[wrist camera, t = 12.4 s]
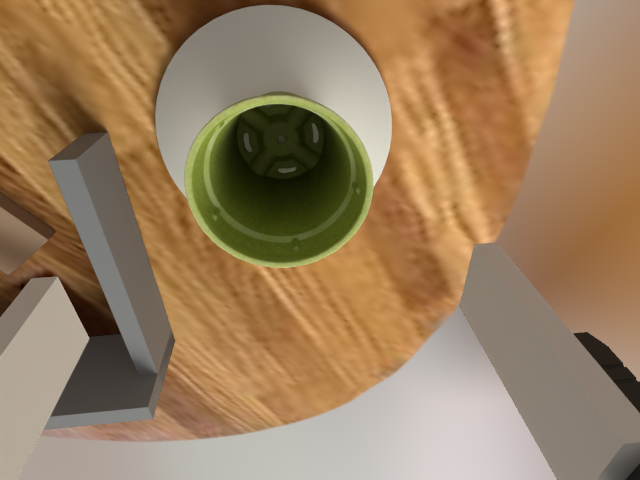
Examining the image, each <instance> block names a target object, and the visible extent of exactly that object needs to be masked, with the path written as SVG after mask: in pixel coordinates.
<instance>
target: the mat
mask: <svg viewBox="0 0 640 480" xmlns="http://www.w3.org/2000/svg"><path fill="white" fill-rule="evenodd" d="M277 91H282V92H289V93H293V94H296V95H298V96H301V97H303V98H307V99H310V100H313V101H315V102H318V103H320V104H322V105H324V106H326V107H327V108H329V109H331V110H332V111H334V112H335V113H336V114H338V115H339V116H340V117H341V118H343V119H344V120H345V121H346V122H347V123H348V124H349V125H350V126H351V127H352V129H353V130H354V131H355V132H356V134H357V135H358V136H359V138H360V140H361V141H362V143H363V145H364V147H365V149H366V151H367V153H368V156H369V159H370V162H371V166H372V172H373V187H374V186H375V184H376V182H377V180H378V179H379V177H380V175H381V173H382V170H383V168H384V165H385V163H386V160H387V156H388V153H389V149H390V142H391V135H392V116H391V108H390V102H389V98H388V94H387V90H386V87H385V85H384V82H383V80H382V78H381V75H380V73H379V71H378V69H377V68H376V66H375V64H374V63H373V61H372V59H371V58H370V57H369V55H368V54H367V53H366V51H365V50H364V49H363V48H362V46H361V45H360V44H359V43H358V42H357V41H356V40H355V39H354V38H352V37H351V36H350V35H349V34H348V33H347V32H345V31H344V30H343V29H341V28H340V27H339V26H337V25H336V24H334V23H333V22H331V21H329V20H327V19H325V18H323V17H321V16H319V15H317V14H314V13H312V12H309V11H306V10H303V9H299V8H294V7H289V6H284V5H259V6H250V7H245V8H242V9H238V10H234V11H231V12H229V13H226V14H224V15H222V16H220V17H217V18H215V19H213V20H212V21H210V22H209V23H207V24H206V25H204V26H203V27H201V28H199V29H198V30H197V31H196V32H195V33H194V34H193V35H192V36H190V37H189V38H188V39H187V40H186V41H185V42H184V44H183V45H182V46H181V47H180V48H179V50H178V51H177V52H176V53H175V55H174V57H173V58H172V60H171V62H170V63H169V65H168V67H167V69H166V71H165V74H164V76H163V79H162V81H161V84H160V88H159V92H158V96H157V102H156V113H155V121H156V134H157V140H158V145H159V149H160V152H161V155H162V158H163V161H164V163H165V165H166V167H167V170H168V172H169V174H170V176H171V177H172V179H173V180H174V182H175V184H176V185H177V187H178V188H179V189H180V191H181V192H182V193H183V194H184V195H185V197H186V193H185V186H184V171H185V164H186V159H187V156H188V153H189V150H190V147H191V145H192V143H193V141H194V140H195V138H196V136H197V135H198V133H199V132H200V131H201V129H202V128H203V127H204V126H205V125H206V124H207V123H208V122H209V121H210V120H211V119H212V118H213V117H214V116H215V115H217V114H218V113H219V112H221V111H222V110H223V109H225V108H227V107H228V106H230V105H232V104H234V103H236V102H239V101H241V100H244V99H247V98H251V97H255V96H260V95H263V94H266V93H270V92H277ZM274 105H285V104H269V105H265V106H266V107H269V106H274ZM312 127H313V128H312V129H313V142H314V143H317V141H318V139H319V137H318V130H317V127H316V125H315V124H314V123H312ZM278 142H280V143H283V142H285V137H284V136H279V137H278ZM244 143H245V148H246V150H247V151H248V152H252V148H251V146H250V143H249V134H248V133H245V134H244ZM296 168H297V167H292V168H288V169H287V168H286V169H285V168H281V169H278V171H279V172H281V173H288V172H293V171H295V170H296ZM186 198H187V197H186Z"/></svg>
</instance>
